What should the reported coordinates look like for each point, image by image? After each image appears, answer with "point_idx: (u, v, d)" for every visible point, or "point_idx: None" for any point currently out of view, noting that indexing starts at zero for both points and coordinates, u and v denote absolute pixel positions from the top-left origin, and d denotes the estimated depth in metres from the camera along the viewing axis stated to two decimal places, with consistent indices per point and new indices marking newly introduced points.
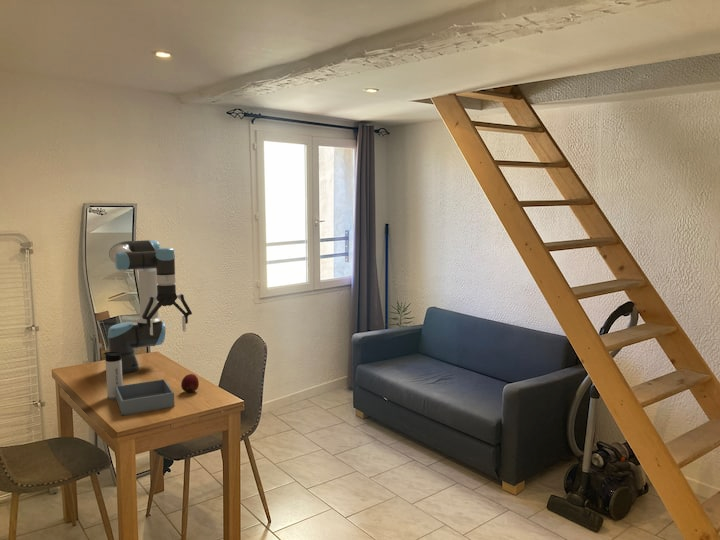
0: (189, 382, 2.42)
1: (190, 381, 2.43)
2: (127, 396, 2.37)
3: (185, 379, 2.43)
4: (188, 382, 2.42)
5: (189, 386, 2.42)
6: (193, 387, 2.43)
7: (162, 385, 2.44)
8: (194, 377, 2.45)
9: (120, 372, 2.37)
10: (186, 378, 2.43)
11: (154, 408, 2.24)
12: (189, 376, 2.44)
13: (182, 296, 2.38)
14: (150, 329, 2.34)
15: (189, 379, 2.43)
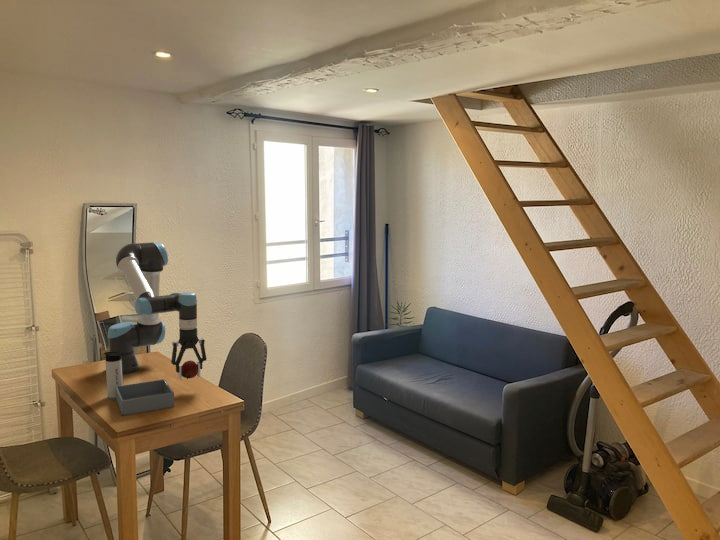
0: (189, 368, 2.42)
1: (189, 368, 2.42)
2: (127, 396, 2.37)
3: (184, 365, 2.43)
4: (188, 369, 2.42)
5: (189, 373, 2.42)
6: (192, 373, 2.43)
7: (162, 385, 2.44)
8: (193, 364, 2.45)
9: (120, 372, 2.37)
10: (185, 365, 2.43)
11: (154, 408, 2.24)
12: (188, 362, 2.44)
13: (203, 341, 2.46)
14: (179, 374, 2.43)
15: (188, 365, 2.43)
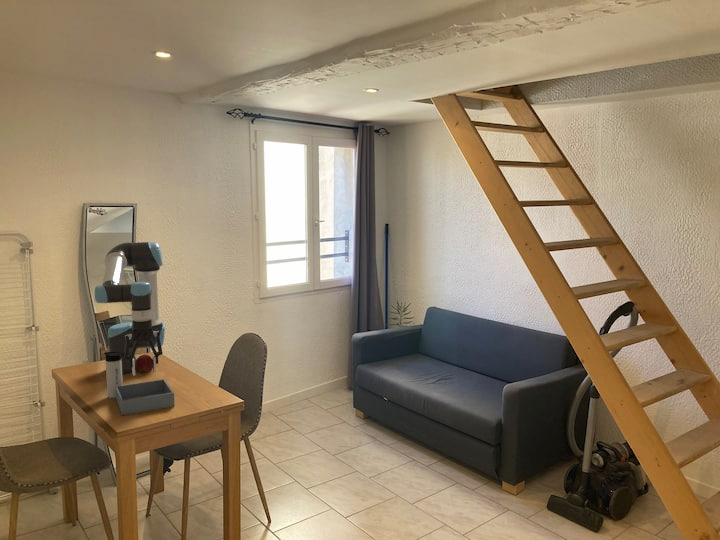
0: (143, 362, 2.27)
1: (143, 362, 2.27)
2: (127, 396, 2.37)
3: (138, 360, 2.28)
4: (142, 363, 2.27)
5: (143, 367, 2.27)
6: (147, 368, 2.28)
7: (162, 385, 2.44)
8: (148, 358, 2.29)
9: (120, 372, 2.37)
10: (139, 359, 2.28)
11: (154, 408, 2.24)
12: (143, 357, 2.29)
13: (158, 334, 2.31)
14: (132, 369, 2.28)
15: (143, 359, 2.28)
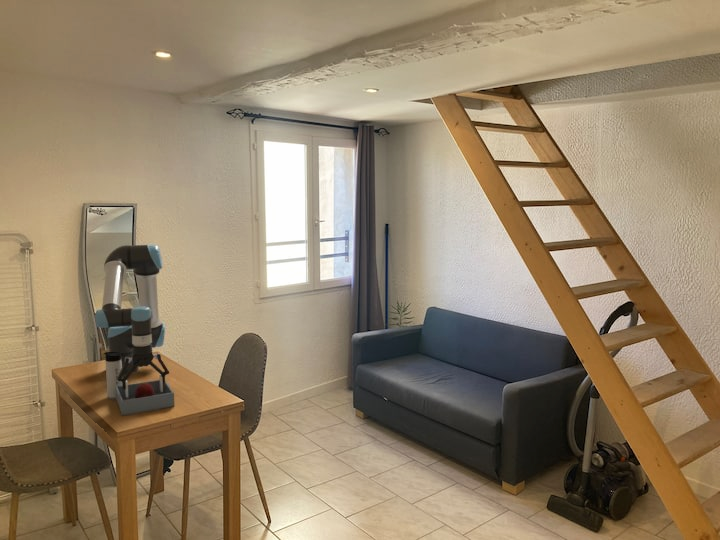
0: (143, 391, 2.28)
1: (144, 391, 2.28)
2: None
3: (139, 389, 2.29)
4: (142, 392, 2.28)
5: (143, 396, 2.28)
6: None
7: None
8: (148, 386, 2.31)
9: None
10: (139, 388, 2.29)
11: (154, 408, 2.24)
12: (143, 385, 2.30)
13: (159, 356, 2.32)
14: (125, 391, 2.27)
15: (143, 388, 2.29)
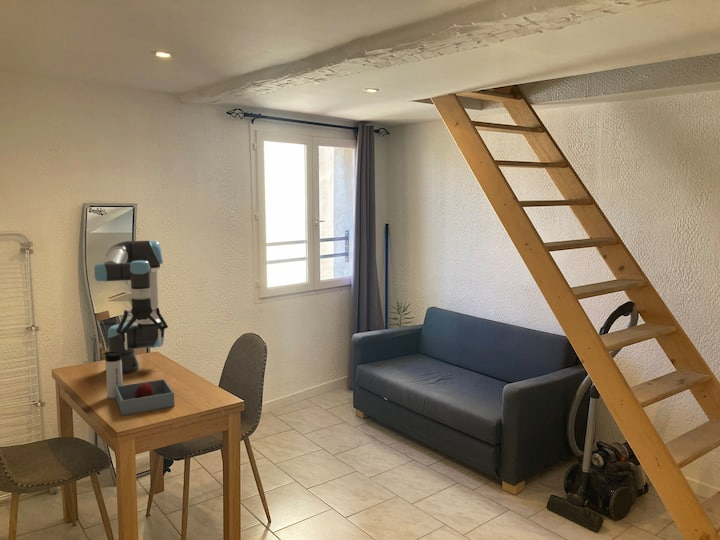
0: (143, 391, 2.28)
1: (144, 391, 2.28)
2: (127, 396, 2.37)
3: (139, 389, 2.29)
4: (142, 392, 2.28)
5: (143, 396, 2.28)
6: None
7: (162, 385, 2.44)
8: (148, 386, 2.31)
9: (120, 372, 2.37)
10: (139, 388, 2.29)
11: (154, 408, 2.24)
12: (143, 385, 2.30)
13: (158, 309, 2.34)
14: (124, 343, 2.30)
15: (143, 388, 2.29)
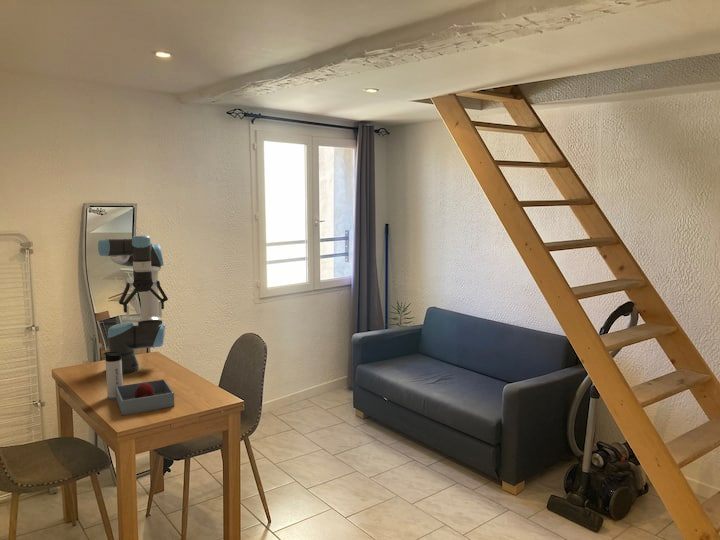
0: (143, 391, 2.28)
1: (144, 391, 2.28)
2: (127, 396, 2.37)
3: (139, 389, 2.29)
4: (142, 392, 2.28)
5: (143, 396, 2.28)
6: None
7: (162, 385, 2.44)
8: (148, 386, 2.31)
9: (120, 372, 2.37)
10: (139, 388, 2.29)
11: (154, 408, 2.24)
12: (143, 385, 2.30)
13: (158, 282, 2.46)
14: (127, 314, 2.41)
15: (143, 388, 2.29)
